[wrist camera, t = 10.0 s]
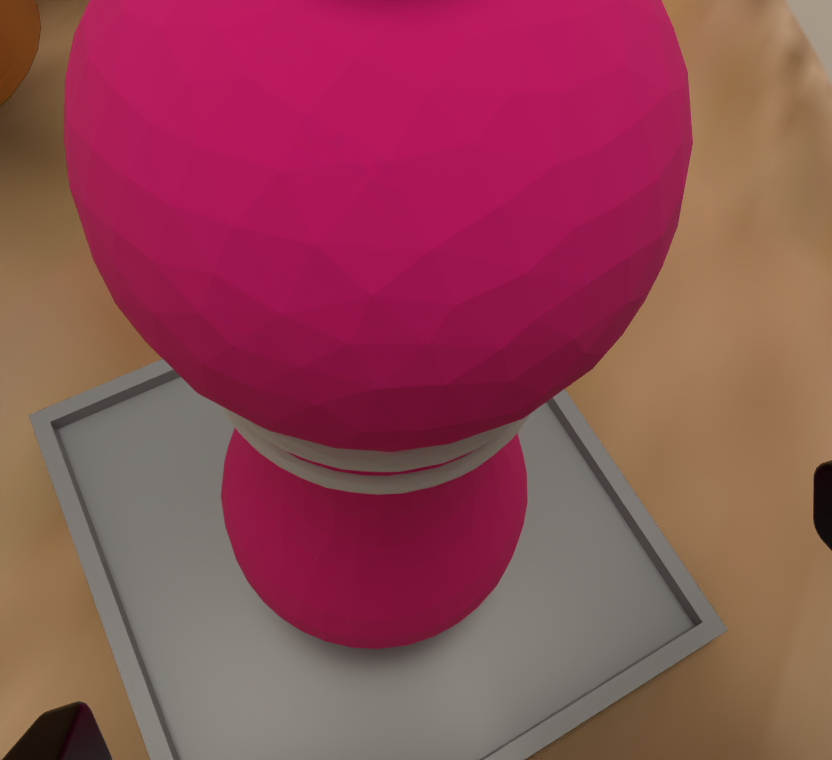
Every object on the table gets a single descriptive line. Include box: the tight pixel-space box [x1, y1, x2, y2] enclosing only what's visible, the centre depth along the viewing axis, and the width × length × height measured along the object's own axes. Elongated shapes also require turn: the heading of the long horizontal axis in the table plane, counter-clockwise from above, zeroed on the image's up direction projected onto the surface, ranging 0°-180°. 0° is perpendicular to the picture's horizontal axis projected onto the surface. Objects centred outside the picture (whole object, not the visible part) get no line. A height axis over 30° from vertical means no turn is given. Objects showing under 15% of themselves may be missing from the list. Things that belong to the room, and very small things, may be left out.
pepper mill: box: [64, 0, 693, 649], centre depth 13 cm, size 7×7×20 cm
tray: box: [29, 359, 728, 760], centre depth 22 cm, size 15×15×1 cm
